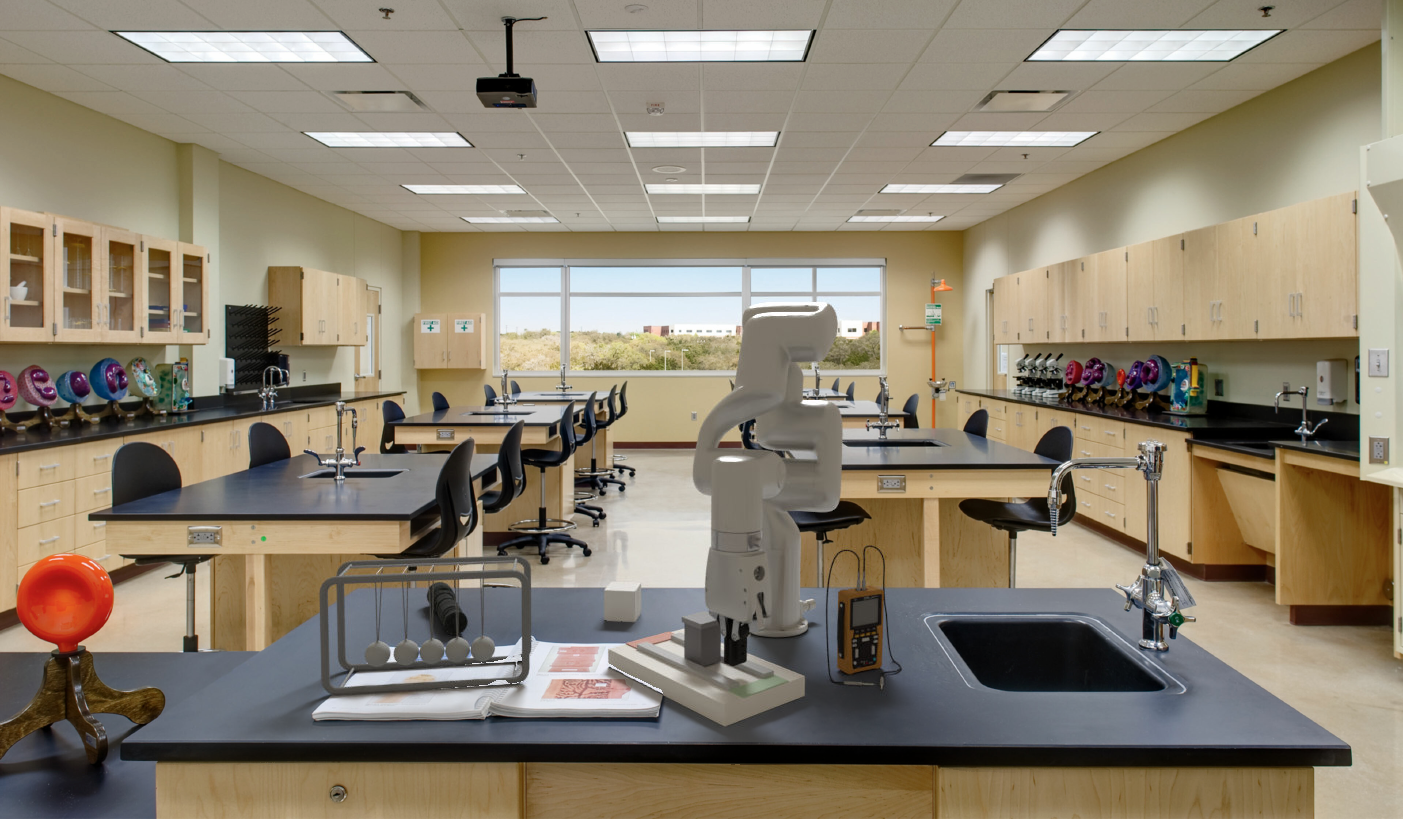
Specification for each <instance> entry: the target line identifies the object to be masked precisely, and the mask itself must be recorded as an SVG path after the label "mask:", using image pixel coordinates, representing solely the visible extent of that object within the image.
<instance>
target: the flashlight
mask: <svg viewBox="0 0 1403 819" xmlns="http://www.w3.org/2000/svg"><path fill="white" fill-rule="evenodd" d="M432 589H433V583H431V584H430V604H431V608H432ZM426 599H427V602H428V603H429V588H428V590H427V593H426ZM456 606H457V612H458V601H456ZM433 611H434V612H436V613H437V615H438V617H439V619H440V621H441V623H442V625H443V629H444V630H445V631H446V632H447V633H448V634H450V635H452V636H457V634H456V607H455V591H454V590H453V589H452V587H451V586H450V585H449V584H448V583H445V582H443V581H442V582H441V581H437V582H434V592H433ZM468 622H469V621H468V617H467V616H466V614H465V613H464V612H463V611H462V609H461V607H460V606H459V615H458V635H460V634H462V633H463V632H465V630H466V629H467V628H468Z"/></svg>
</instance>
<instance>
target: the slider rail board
mask: <svg viewBox="0 0 1403 819" xmlns="http://www.w3.org/2000/svg"><path fill="white" fill-rule="evenodd" d="M607 650H608V651H607V662H608V663H609V664H611V665H613V666H614V667H616V668H617V669H619V670H621V671H623V672H625V673H627V674H629V675H631V676H633V677H635V678H638V679H640V680H642V681H644V682H646V683H648V684H650V685H652V686H653V687H656V688H659V689H661V690H662V692H663V695H662V696H663V697H666V698H668V699H669V700H672V701H674V702H676V703H678V704H680V705H681V706H684V707H686V708H687V709H689V710H692V711H694V712H695V713H697V714H700V715H701V716H703V717H705V718H707V719H709V720H711V721H713V722H715V723H717V724H719V725H721V726H723V727H727V726H730V725H732V724H733V725H734V724H735V723H737V722H739V721H740V722H741V721H743V720H746V719H748V718H750V717H751V718H752V717H753V716H755V715H759V714H761V713H763V712H766V711H769V710H771V709H775V708H776V707H779V706H782V705H785V704H787V703H789V702H792V701H794V700H797V699H800V698H802V697H805V695H806V694H805V693H806V692H805V691H806V690H805V689H806V687H805V686H806V681H805V680H806V677H805V675H804V674H801V673H798V672H796V671H793V670H790V669H788V668H785V667H783V666H780V665H778V664H776V663H773V662H771V661H767V660H766V659H763V658H761V657H758V656H756V655H753V654H750V653H748V652H747V661H746V662H745V663H742V664H739V665H736V666H733V667H732V666H730V665H729V664H725V663H724V642H721V661H720V662H717V663H714V664H711V665H707V666H704V667H703V666H701V665H699V664H696V663H694V662H692V661H690V660H687V659H685V658H684V628H680V629H677V630H673V631H665V632H662V633H659V634H655V635H650V636H647V637H643V638H640V639H636V640H633V641H628V642H625V644H622V645H618V646H614V647H610V648H608V649H607ZM608 663H607V664H608Z"/></svg>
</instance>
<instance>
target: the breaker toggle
mask: <svg viewBox="0 0 1403 819" xmlns="http://www.w3.org/2000/svg"><path fill="white" fill-rule="evenodd" d="M681 623H683V624H684V626H683V629H684V658H685V659H687V660H690V661H692V662H694V663H696V664H699V665H701V666H703V667H704V666H707V665H711V664H714V663H717V662H720V661H721V643H722V634H721V629H720V625H719V623H718V621H717V620H716V619H714V618H713V617H712V616H710V615H709V611H705V610H703V611H700V612H695V613H692V614H688V615H683V616H681Z"/></svg>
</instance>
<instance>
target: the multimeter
mask: <svg viewBox="0 0 1403 819" xmlns="http://www.w3.org/2000/svg"><path fill="white" fill-rule="evenodd" d="M867 548H874V549H876V550H877V551H878V552H879V554H880V555H881V559H882V566H883V569H882V570H883V571H882V588H880V587H877V586H874V585H872V584H871V585H867V583H866V582H867V581H866V549H867ZM843 552H849V553H853V554H854V556H855V557H856V558H857V567H858V568H857V580H856V587H853V588H847V589H846V588H845V589H840V590H839V591H838V592H837V621H836V622H837V624H836V625H837V627H836V629H837V630H836V631H837V632H836V641H837V642H836V643H837V644H836V645H837V649H836V650H837V654H836V656H837V657H836V658H837V660H836V661H837V662H836V668H837V670H839V671H842V672H843V673H846V674H847V675H853V674H855V673H859V672H865V671H869V670H872V669H874V670H878V669H880V668H881V667H882V666H883V642H884V613H885V624H886V638H887V639H886V640H887V648H888V652H889V656H890V659H891V660H892V661H894V662H893V663H895V664H896V665H897V664H898V665H899V666H898V665H897V666H898V667H899V668H898V669H896V670H891V671H890V670H889V671H882V672H881V673H880V678H879V679H880V680H879V686H880V689H881V690H883V686H884V677H883V674H892V673H893V674H894V673H897V672H899V671H902V666H901V664H900V663H898V661H896V660H895V659H894V658H893V655H892V651H891V645H890V638H889V637H890V636H889V623H888V611H887V603H886V594H885V593H886V591H885V590H886V586H885V580H886V579H885V576H886V573H885V572H886V564H885V563H886V561H885V558H884V555H883V552H882V551H881V550H880V549H879V548H878V547H877V546H874V545H866V546H865V547H864V548H863V551H862V552H863V556H862V557H863V559H862V560H863V567H862V568H863V569H862V580H861V572H860V567H861V566H860V565H861V564H860V563H861V560H860V557H859V555H858V554H857V553H856V552H855V551H854V550H851V549H842V550H840V551H838V552H837V553H836V555H834V557H833V559H832V561H831V565H830V568H829V571H828V572H829V573H828V578H827V585H826V594H825V595H826V596H825V597H826V598H825V601H826V602H825V632H826V634H825V635H826V637H825V638H826V658H827V669H828V670H827V671H828V677H829V679H830V681H831V682H832V683H834V684H840V685H848V686H849V685H850V686H861V687H862V686H863V685H864V686H865V685H866V686H875V685H876V684H874V683H866V682H865V683H864V682H863V681H835V680H833V677H832V675H831V667H830V651H829V649H830V648H829V624H828V622H829V621H828V606H829V588H830V581H831V580H830V579H831V576H832V575H831V573H832V570H833V566H834V563H835V561H836V559H837V557H838V556H839V555H840V554H841V553H843Z"/></svg>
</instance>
